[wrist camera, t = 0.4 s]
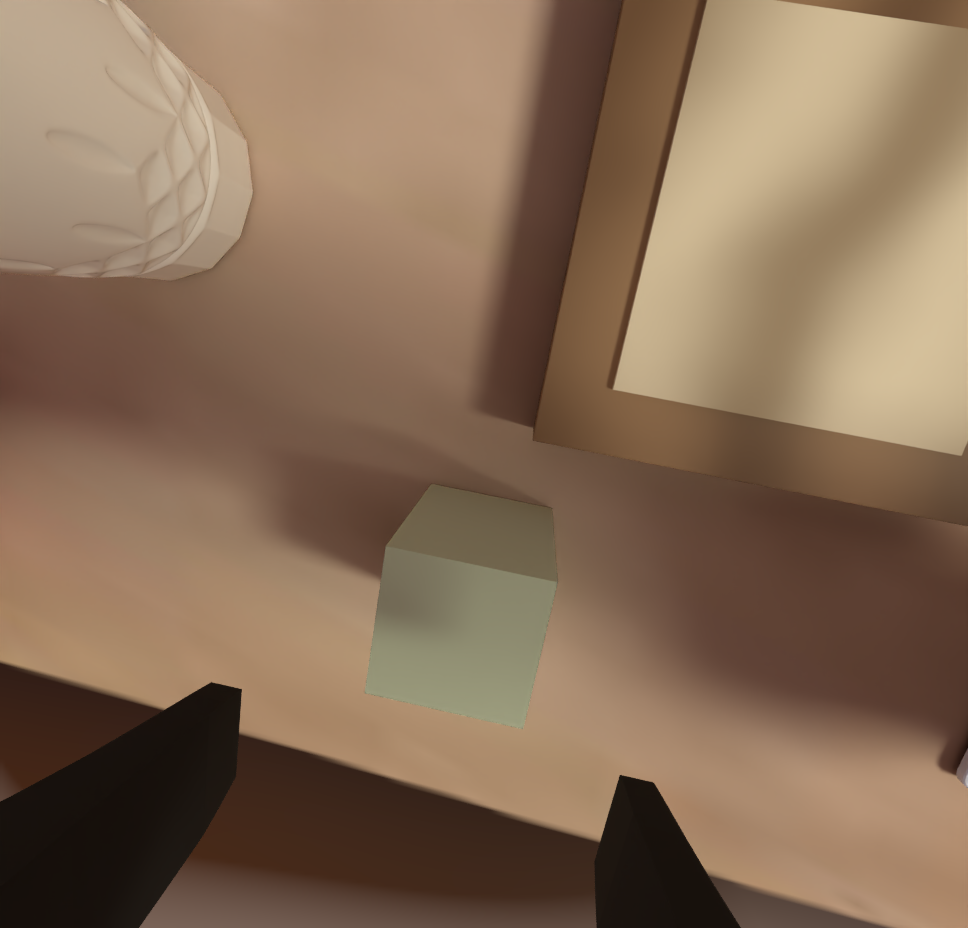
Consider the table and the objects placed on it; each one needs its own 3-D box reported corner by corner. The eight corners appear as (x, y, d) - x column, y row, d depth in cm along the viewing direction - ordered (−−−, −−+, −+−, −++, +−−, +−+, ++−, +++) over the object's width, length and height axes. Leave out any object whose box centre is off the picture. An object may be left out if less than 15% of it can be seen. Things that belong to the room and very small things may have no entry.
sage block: (551, 508, 19) (557, 582, 13) (527, 616, 20) (522, 729, 14) (431, 483, 19) (385, 546, 14) (414, 592, 21) (364, 693, 15)
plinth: (1148, 25, 14) (1267, -36, 12) (942, 508, 18) (1004, 534, 15) (632, -50, 15) (649, -121, 13) (533, 428, 18) (532, 441, 16)
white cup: (147, -22, 16) (-416, -537, 7) (320, 185, 17) (43, -5, 8) (7, 165, 18) (-597, -28, 8) (170, 344, 19) (-207, 353, 9)
